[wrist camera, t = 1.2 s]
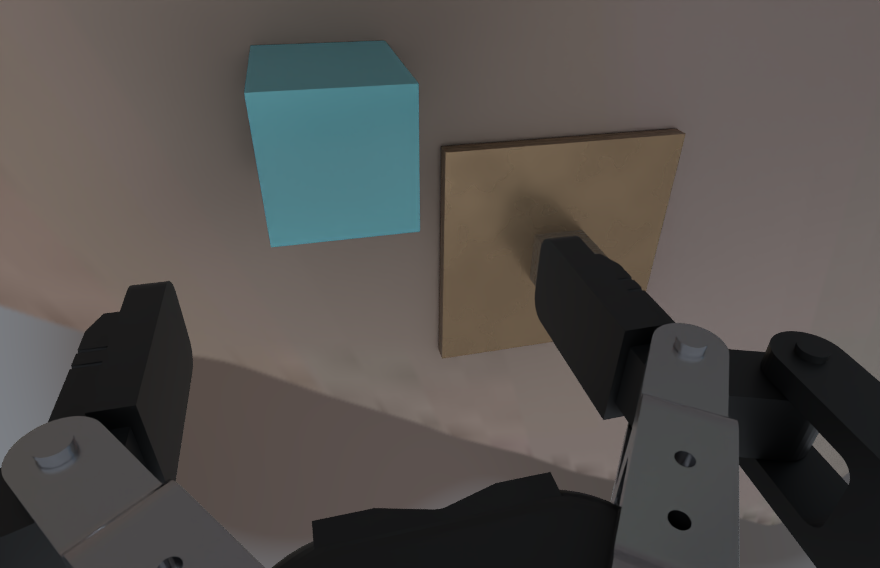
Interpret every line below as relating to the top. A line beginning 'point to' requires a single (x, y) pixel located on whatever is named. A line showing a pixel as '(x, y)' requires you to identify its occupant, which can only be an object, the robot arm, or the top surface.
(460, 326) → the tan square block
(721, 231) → the top surface
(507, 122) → the top surface
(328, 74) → the turquoise rectangular block
